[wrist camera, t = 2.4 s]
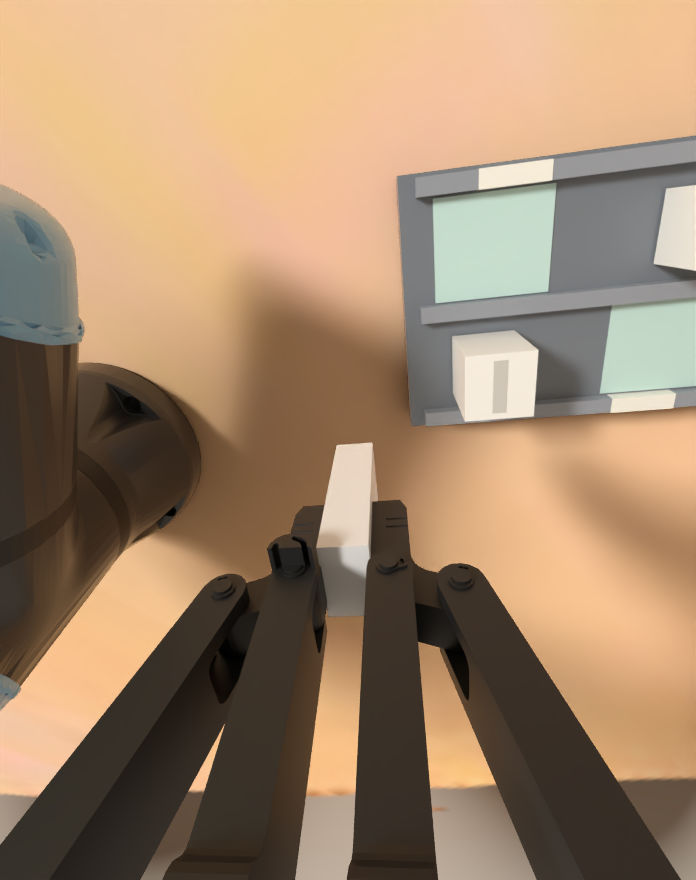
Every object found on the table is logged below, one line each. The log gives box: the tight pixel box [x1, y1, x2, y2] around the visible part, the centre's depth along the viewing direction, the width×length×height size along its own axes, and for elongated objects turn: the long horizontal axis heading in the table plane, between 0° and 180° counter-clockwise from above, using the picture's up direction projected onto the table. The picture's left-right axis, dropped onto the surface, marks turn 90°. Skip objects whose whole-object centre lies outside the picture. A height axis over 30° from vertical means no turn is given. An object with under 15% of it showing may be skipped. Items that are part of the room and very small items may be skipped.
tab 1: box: [452, 330, 539, 422], centre depth 28 cm, size 4×4×5 cm
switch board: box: [396, 136, 696, 426], centre depth 29 cm, size 22×16×3 cm
